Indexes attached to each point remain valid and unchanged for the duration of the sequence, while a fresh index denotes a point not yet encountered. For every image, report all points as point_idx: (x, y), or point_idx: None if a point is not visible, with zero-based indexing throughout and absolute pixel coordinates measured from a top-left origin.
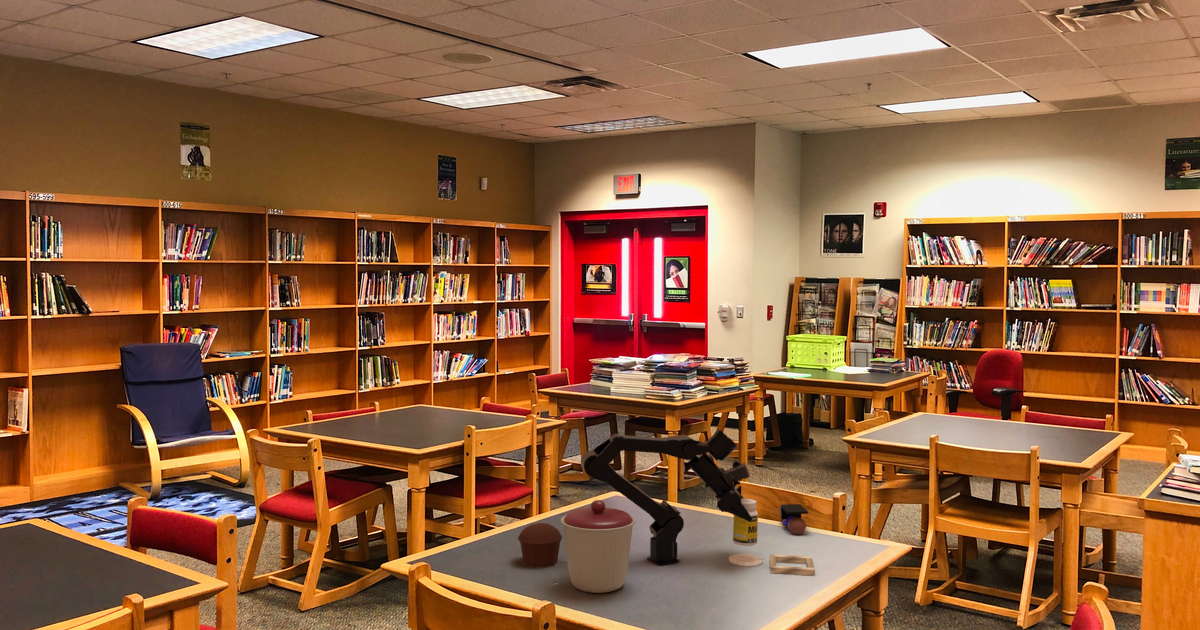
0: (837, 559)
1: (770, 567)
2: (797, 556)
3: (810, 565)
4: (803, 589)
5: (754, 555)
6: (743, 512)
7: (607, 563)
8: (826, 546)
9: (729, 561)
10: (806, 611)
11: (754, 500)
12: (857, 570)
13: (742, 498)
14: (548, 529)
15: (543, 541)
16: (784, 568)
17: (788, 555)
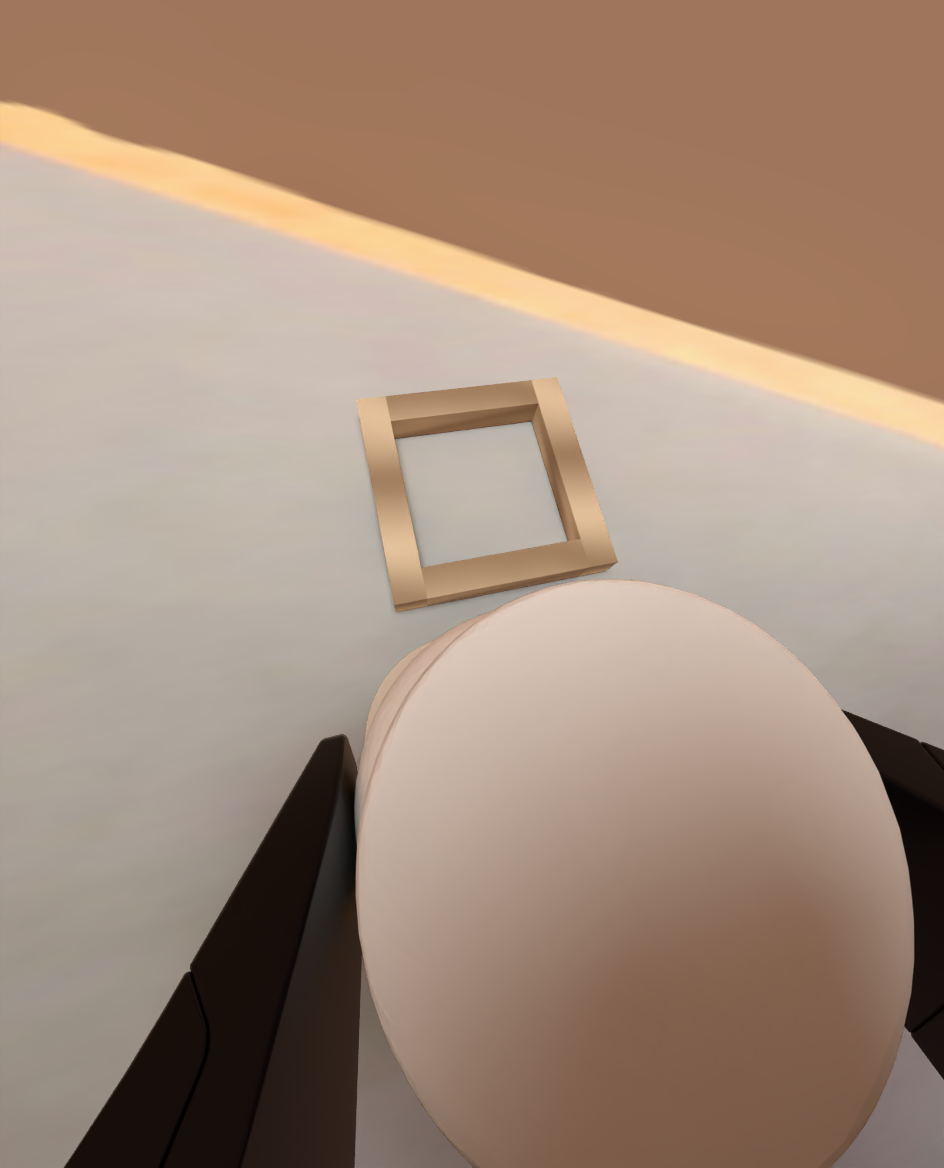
0: (273, 323)
1: (614, 562)
2: (378, 462)
3: (503, 396)
4: (730, 423)
5: (379, 701)
6: None
7: None
8: (39, 371)
9: None
10: (922, 398)
11: (490, 643)
12: (409, 259)
13: (257, 1116)
14: None
15: None
16: (595, 499)
17: (376, 506)
